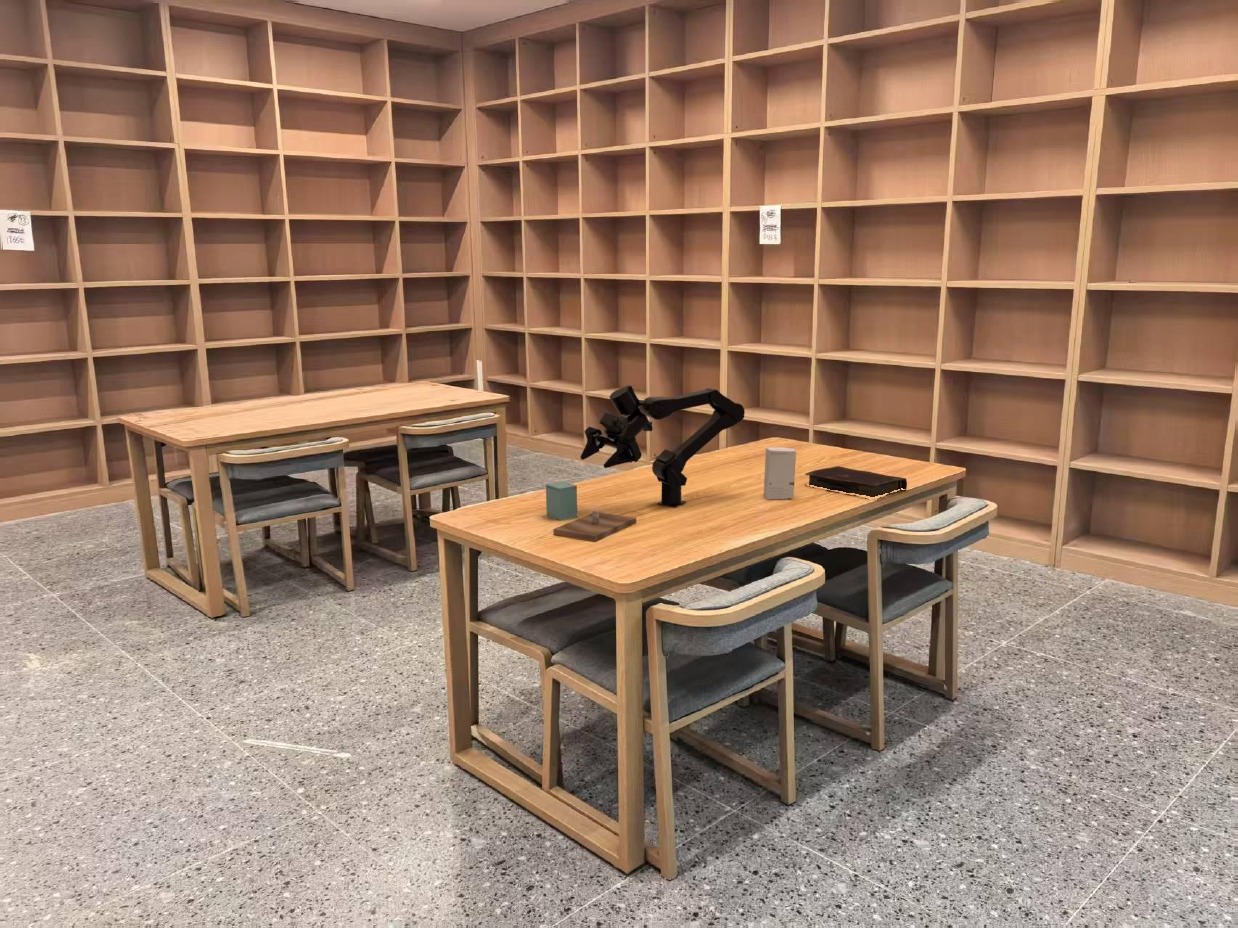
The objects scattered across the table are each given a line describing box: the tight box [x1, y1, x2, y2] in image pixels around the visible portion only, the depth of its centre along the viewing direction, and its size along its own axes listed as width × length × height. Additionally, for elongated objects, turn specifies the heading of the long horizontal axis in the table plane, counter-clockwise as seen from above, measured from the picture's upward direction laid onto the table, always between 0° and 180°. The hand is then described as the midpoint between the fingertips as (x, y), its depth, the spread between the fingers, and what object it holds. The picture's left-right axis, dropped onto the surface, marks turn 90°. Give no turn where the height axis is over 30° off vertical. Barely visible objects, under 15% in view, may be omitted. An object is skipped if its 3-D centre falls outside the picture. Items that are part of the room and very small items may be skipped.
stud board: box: [553, 509, 637, 543], centre depth 244 cm, size 20×13×5 cm, turn 149°
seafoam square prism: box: [545, 480, 578, 522], centre depth 256 cm, size 6×7×9 cm
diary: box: [804, 465, 908, 497], centre depth 286 cm, size 19×25×5 cm
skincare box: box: [763, 446, 797, 500], centre depth 275 cm, size 8×6×15 cm
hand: (592, 462), depth 252 cm, fingers open, 9 cm apart
